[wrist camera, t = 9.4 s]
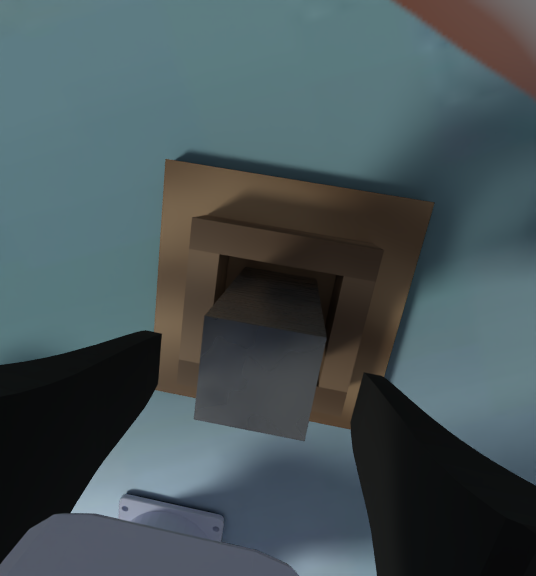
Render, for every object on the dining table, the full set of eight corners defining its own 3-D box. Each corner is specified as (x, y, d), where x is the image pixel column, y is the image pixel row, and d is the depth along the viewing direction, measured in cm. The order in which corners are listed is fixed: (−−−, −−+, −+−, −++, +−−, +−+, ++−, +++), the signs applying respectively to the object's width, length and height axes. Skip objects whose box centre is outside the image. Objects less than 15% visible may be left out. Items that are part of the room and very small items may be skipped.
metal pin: (303, 343, 19) (304, 441, 12) (236, 332, 19) (193, 419, 12) (316, 278, 18) (326, 337, 10) (245, 266, 18) (204, 315, 11)
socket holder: (364, 422, 21) (376, 464, 18) (156, 380, 22) (130, 413, 19) (427, 202, 17) (457, 203, 14) (172, 161, 18) (143, 152, 15)
